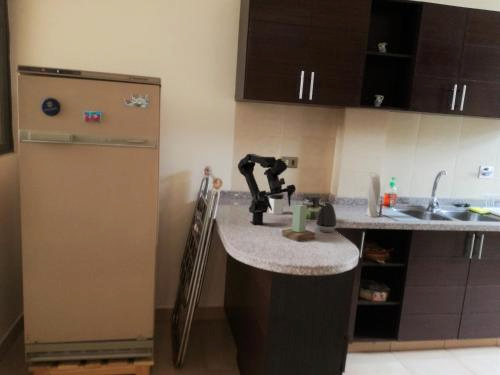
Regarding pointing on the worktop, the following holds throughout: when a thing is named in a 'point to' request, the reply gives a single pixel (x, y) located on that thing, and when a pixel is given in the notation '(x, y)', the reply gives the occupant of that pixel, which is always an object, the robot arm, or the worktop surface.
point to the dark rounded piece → (326, 218)
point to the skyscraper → (374, 197)
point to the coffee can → (312, 206)
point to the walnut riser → (298, 235)
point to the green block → (299, 218)
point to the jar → (276, 203)
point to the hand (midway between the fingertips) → (280, 208)
